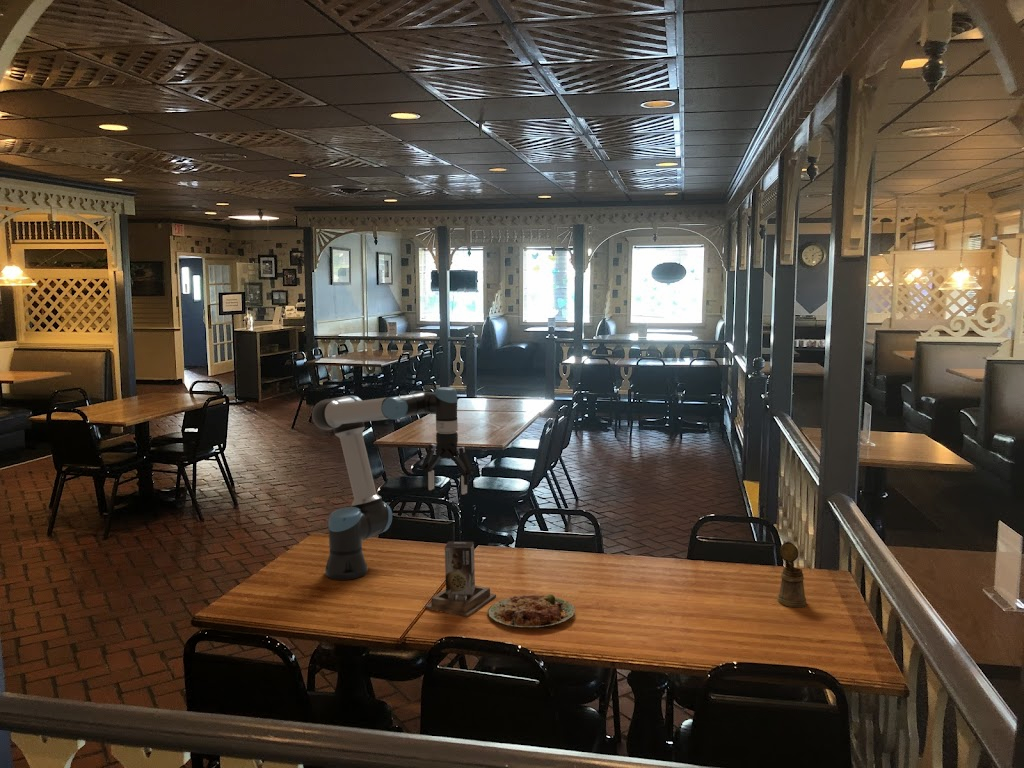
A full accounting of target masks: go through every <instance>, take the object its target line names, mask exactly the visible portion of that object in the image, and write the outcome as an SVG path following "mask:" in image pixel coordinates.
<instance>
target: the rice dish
mask: <svg viewBox="0 0 1024 768" xmlns="http://www.w3.org/2000/svg"><path fill="white" fill-rule="evenodd" d="M575 609H576V607H575V606H574V605H573V604H572V603H571V602H569V601H568V600H565V599H562V598H558V597H555V596H554V594H549V593H548V594H547V595H542V594H541V595H539V594H529V595H526V594H523V595H517V596H516V595H514V596H511V597H508V598H504V599H501V600H499V601H497V602H495V603H493V604H492V605H491V606H490V607H489V608H488V610H487V615H488V617H489V618H491V619H492V620H494V621H495V622H497V623H500V624H503V625H506V626H511V627H519V628H541V627H542V628H543V627H548V626H549V627H550V626H554V625H558V624H562V623H564V622H567V621H568V620H569V619H571V618H572V617H573V616H574V615H575V613H576V610H575ZM563 610H564V611H563ZM562 612H565V613H564V614H565V615H563V614H562ZM506 621H507V622H509V623H510V624H508V623H507V622H506Z"/></svg>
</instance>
